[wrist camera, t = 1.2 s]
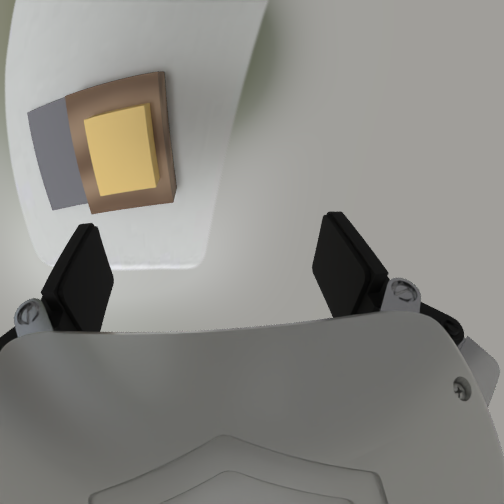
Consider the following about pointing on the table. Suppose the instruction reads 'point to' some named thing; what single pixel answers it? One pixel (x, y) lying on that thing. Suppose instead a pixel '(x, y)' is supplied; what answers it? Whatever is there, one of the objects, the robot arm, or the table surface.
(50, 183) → the charcoal mat
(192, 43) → the table surface
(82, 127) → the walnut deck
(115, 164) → the ochre tile
